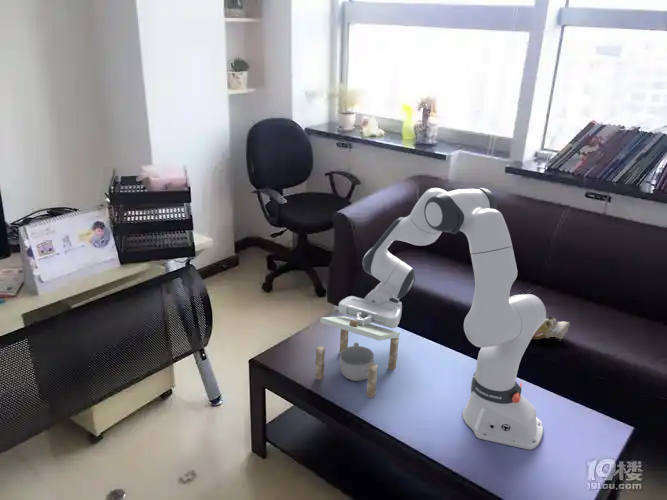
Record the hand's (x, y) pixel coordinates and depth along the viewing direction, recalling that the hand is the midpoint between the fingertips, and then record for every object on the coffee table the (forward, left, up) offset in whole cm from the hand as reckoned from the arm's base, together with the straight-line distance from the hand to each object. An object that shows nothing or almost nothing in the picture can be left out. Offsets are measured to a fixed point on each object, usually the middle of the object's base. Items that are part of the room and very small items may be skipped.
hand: (359, 322), depth 179 cm
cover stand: (0, 0, -19) cm, 19 cm away
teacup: (0, 0, -19) cm, 19 cm away
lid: (0, -1, -3) cm, 4 cm away
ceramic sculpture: (-50, -56, -19) cm, 78 cm away
